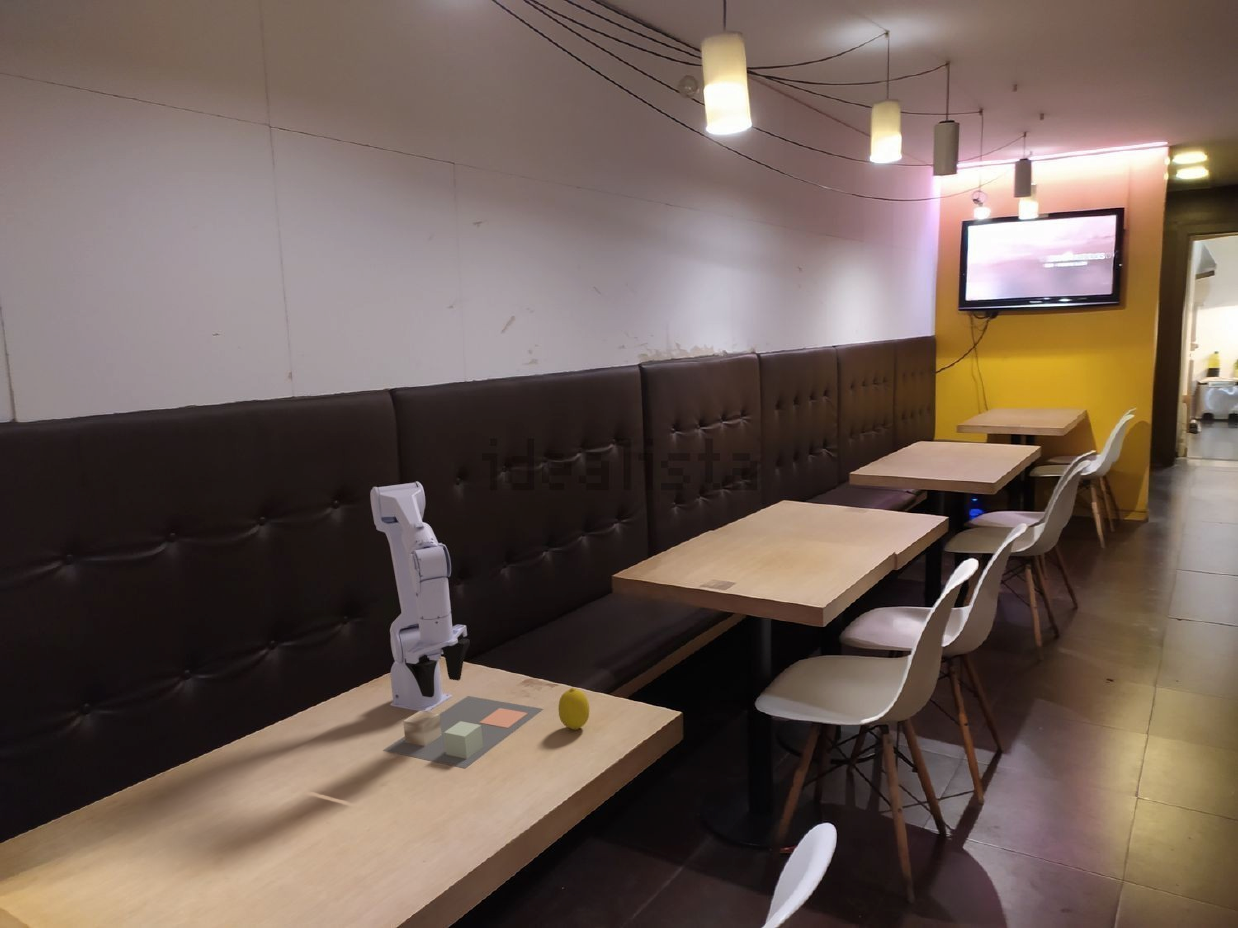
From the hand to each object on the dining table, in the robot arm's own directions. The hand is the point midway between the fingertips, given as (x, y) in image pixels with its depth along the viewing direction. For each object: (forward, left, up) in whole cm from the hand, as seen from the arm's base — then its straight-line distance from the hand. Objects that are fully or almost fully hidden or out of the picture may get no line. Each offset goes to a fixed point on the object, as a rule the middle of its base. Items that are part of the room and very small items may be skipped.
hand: (441, 687), depth 149 cm
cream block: (-3, -3, -9) cm, 10 cm away
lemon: (+21, +10, -10) cm, 25 cm away
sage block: (+7, -4, -9) cm, 12 cm away
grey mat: (+2, +3, -10) cm, 10 cm away
